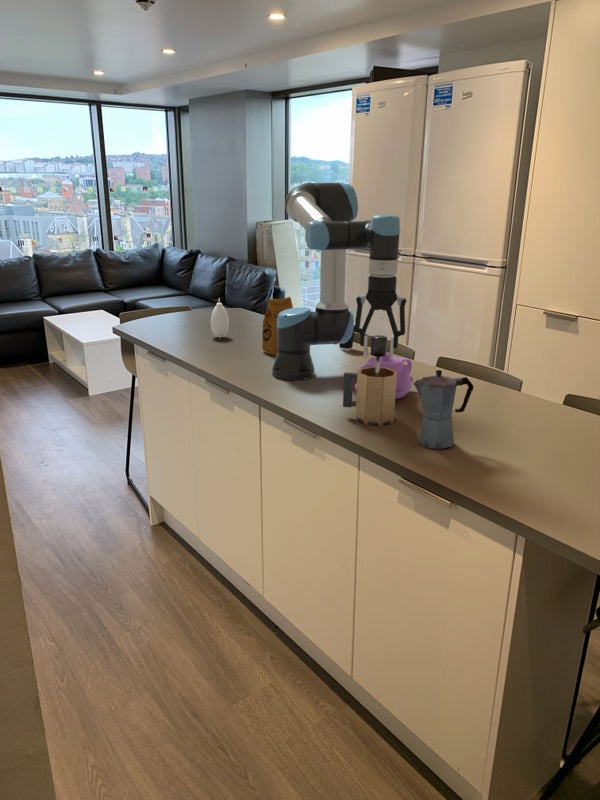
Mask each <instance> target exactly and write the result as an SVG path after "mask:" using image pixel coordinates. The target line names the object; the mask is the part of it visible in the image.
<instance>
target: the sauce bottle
mask: <svg viewBox="0 0 600 800" xmlns="http://www.w3.org/2000/svg"><path fill="white" fill-rule="evenodd" d="M220 301H221V300H220V298H218V302H217V303H216V305H215V307H214V308H213V310H212V313H211V317H210V329H211V332H212V334H213V335H214V336H215V337H216V336H217V337H216V338H218V337H223V338H224V337H225V336H227V334H228V332H229V330H230V329H229V328H230V320H229V315H228V312H227V309H226V308H225V307H224V305H223V303H222V302H220Z"/></svg>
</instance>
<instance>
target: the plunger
mask: <svg viewBox="0 0 600 800" xmlns="http://www.w3.org/2000/svg"><path fill="white" fill-rule="evenodd" d="M387 347H388V336H385V335H381V334H378V335H377V334H376V335H372V336H371V339H370V356H372V357H375V356H376V368H375V377H379V373H380V357H382V356H386V352H387V350H388V349H387Z"/></svg>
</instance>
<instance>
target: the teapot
mask: <svg viewBox="0 0 600 800" xmlns="http://www.w3.org/2000/svg"><path fill="white" fill-rule="evenodd" d="M404 362H406V364H405V363H404ZM367 367H376V356H372V357H370V358H369V359H368V360H367V361H366V362H365V363H362V364H360V366H358V368H357V372H358V371H359V369H361V368H367ZM380 367H384V368H389V369H392V370H395V371H397V381H396V396H395V400H398V399H402V398H404V397H405V396H406V395H407V394H408V393H409V392H410V391H411V389H412V384H413V380H414V378H413V376H412V375H410V374H411V371H412V368H413V363H412V361H411V360H410V358H407V357H400V358H399V357H396V356H393V359H392V360H390V352H387V351H386V356H382V357H380ZM354 390H355V391H356V392H357V382H356V383H355V385H354Z"/></svg>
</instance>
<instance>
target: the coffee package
mask: <svg viewBox="0 0 600 800" xmlns="http://www.w3.org/2000/svg"><path fill="white" fill-rule="evenodd" d="M267 303H268V306H267V308H266V312H265V314H264V318H263V321H262V325H261V326H262V331H261V332H262V334H261V335H262V342H261V343H262V346H261V348H262V351H263V352H264V351H265V352H264V353H266V352H267V353H266V354H268V355H269V354H271V356H276V355H277V317H278V314H279V313H280V312H282V311H284V310H287V309H291V308H294V307H293V301H292V298H291V296H287V297H285V298H282V299H277V298H267Z"/></svg>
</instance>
